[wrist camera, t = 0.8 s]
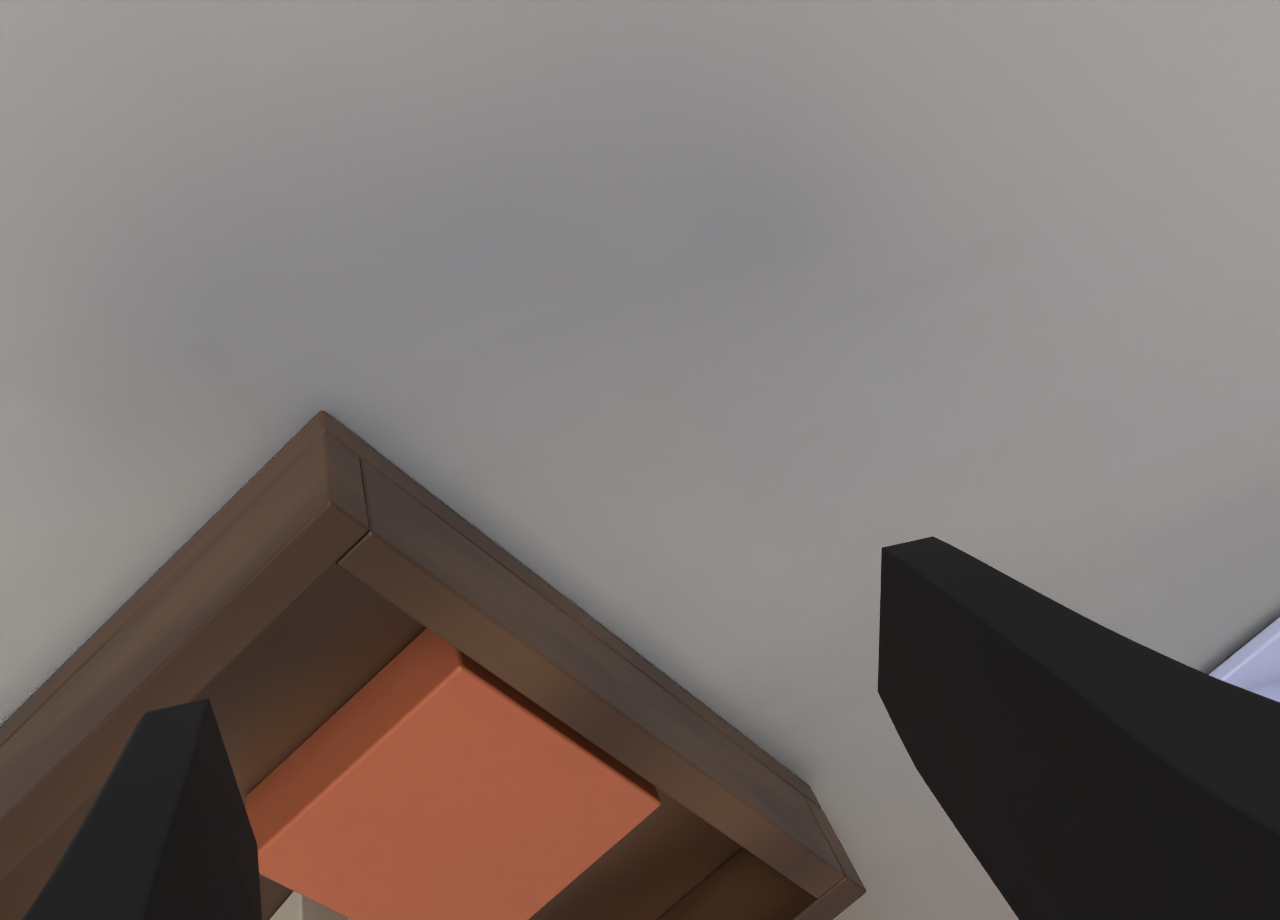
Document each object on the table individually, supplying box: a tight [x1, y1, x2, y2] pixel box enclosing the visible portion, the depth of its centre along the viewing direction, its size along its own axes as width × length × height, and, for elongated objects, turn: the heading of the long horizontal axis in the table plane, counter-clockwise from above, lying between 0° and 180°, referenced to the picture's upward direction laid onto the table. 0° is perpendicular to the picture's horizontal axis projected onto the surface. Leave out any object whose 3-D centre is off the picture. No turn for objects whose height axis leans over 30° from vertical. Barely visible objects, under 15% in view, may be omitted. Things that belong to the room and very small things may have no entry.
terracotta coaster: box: [245, 628, 661, 920], centre depth 23 cm, size 6×6×2 cm
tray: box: [0, 411, 866, 920], centre depth 24 cm, size 15×15×3 cm
